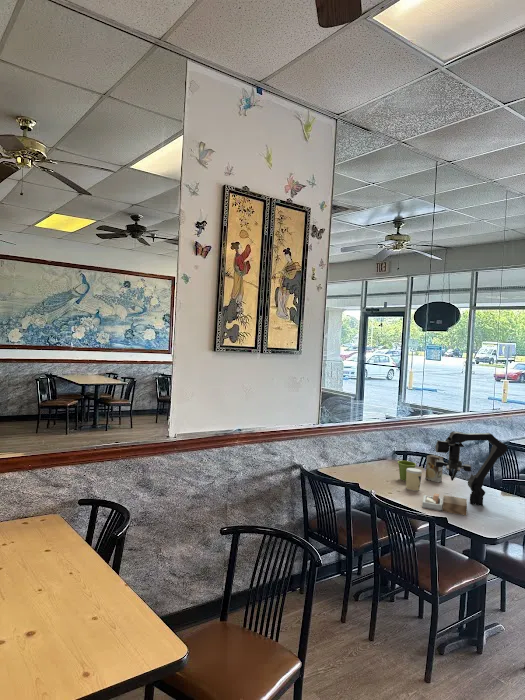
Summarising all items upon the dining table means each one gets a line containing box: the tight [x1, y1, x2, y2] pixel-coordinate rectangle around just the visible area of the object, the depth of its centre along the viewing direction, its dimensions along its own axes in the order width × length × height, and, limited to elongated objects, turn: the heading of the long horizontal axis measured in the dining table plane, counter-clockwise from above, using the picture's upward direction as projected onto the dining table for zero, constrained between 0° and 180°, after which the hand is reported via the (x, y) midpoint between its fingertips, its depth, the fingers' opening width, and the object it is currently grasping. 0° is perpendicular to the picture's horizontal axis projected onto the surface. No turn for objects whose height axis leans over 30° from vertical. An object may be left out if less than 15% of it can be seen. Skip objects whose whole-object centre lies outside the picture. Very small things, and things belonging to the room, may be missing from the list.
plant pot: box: [397, 460, 417, 482], centre depth 322 cm, size 12×12×11 cm
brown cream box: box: [441, 494, 468, 516], centre depth 269 cm, size 12×14×5 cm
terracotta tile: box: [432, 492, 440, 504], centre depth 275 cm, size 5×5×2 cm
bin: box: [421, 494, 443, 512], centre depth 273 cm, size 10×14×3 cm
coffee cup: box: [405, 467, 423, 492], centre depth 302 cm, size 9×9×12 cm
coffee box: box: [424, 454, 444, 483], centre depth 326 cm, size 9×6×16 cm
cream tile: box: [425, 497, 436, 504], centre depth 271 cm, size 5×5×2 cm
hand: (452, 480), depth 283 cm, fingers closed
